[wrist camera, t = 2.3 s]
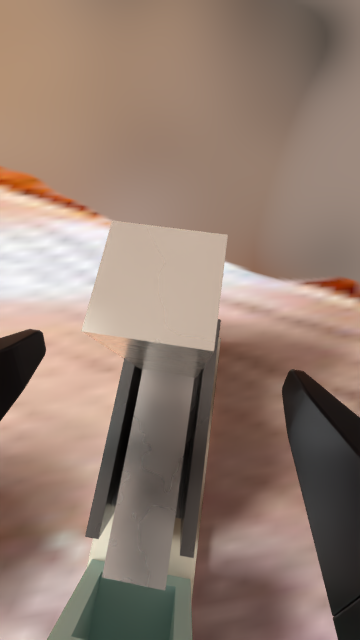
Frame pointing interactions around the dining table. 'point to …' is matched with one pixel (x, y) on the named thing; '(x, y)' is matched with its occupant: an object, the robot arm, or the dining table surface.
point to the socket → (125, 610)
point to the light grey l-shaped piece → (155, 375)
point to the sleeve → (191, 461)
